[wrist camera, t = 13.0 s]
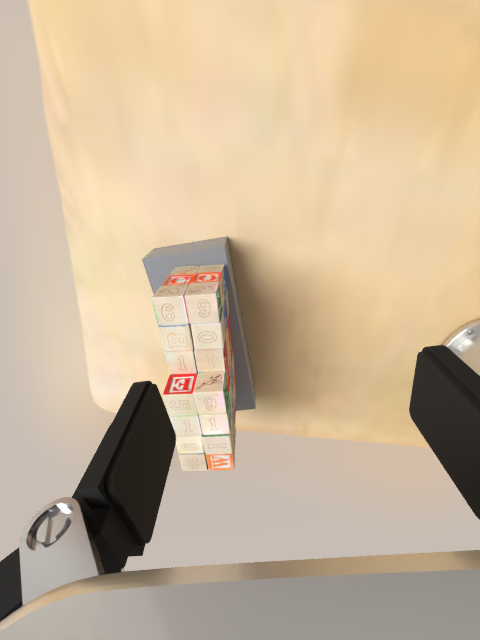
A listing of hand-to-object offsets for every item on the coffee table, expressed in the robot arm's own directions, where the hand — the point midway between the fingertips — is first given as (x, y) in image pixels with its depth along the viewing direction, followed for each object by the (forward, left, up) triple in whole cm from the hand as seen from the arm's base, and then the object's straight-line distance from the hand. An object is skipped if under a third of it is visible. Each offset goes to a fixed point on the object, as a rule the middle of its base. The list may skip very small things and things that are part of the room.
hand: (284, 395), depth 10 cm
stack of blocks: (+8, +12, -26) cm, 30 cm away
